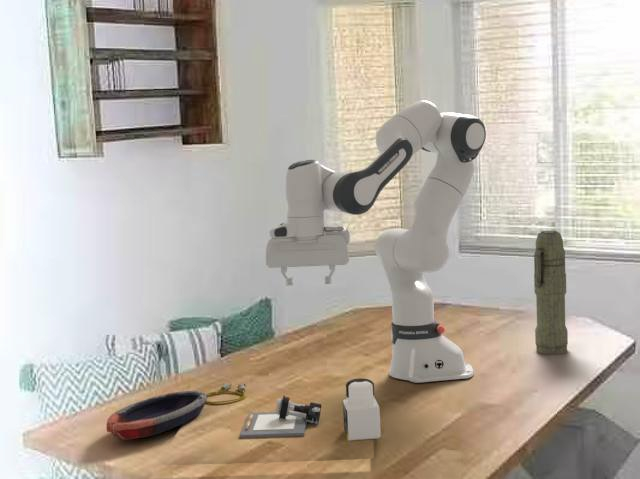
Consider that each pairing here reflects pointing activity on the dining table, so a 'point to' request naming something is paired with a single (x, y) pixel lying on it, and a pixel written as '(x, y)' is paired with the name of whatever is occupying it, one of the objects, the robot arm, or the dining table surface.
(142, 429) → the dish
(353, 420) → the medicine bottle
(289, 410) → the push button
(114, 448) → the dining table surface
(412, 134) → the robot arm
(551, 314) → the thermos
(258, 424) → the grey board
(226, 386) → the extension cord
